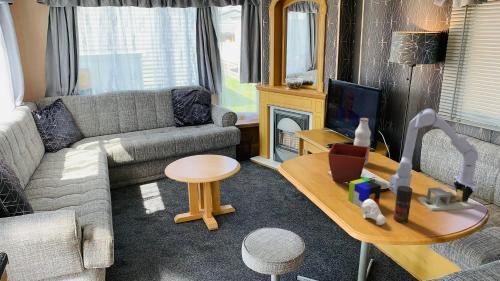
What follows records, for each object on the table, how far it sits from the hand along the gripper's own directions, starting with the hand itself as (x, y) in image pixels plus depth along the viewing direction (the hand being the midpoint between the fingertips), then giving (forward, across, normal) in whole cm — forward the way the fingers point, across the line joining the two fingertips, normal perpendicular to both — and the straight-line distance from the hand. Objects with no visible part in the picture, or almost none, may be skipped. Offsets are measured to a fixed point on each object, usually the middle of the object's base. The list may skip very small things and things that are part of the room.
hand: (461, 198), depth 178 cm
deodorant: (+2, -11, +38) cm, 39 cm away
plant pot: (+2, +35, +44) cm, 56 cm away
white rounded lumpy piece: (+2, -10, +50) cm, 51 cm away
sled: (+1, 0, +4) cm, 4 cm away
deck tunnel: (+2, 0, +10) cm, 10 cm away
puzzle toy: (+2, +7, +47) cm, 47 cm away
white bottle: (+2, +57, +26) cm, 63 cm away
